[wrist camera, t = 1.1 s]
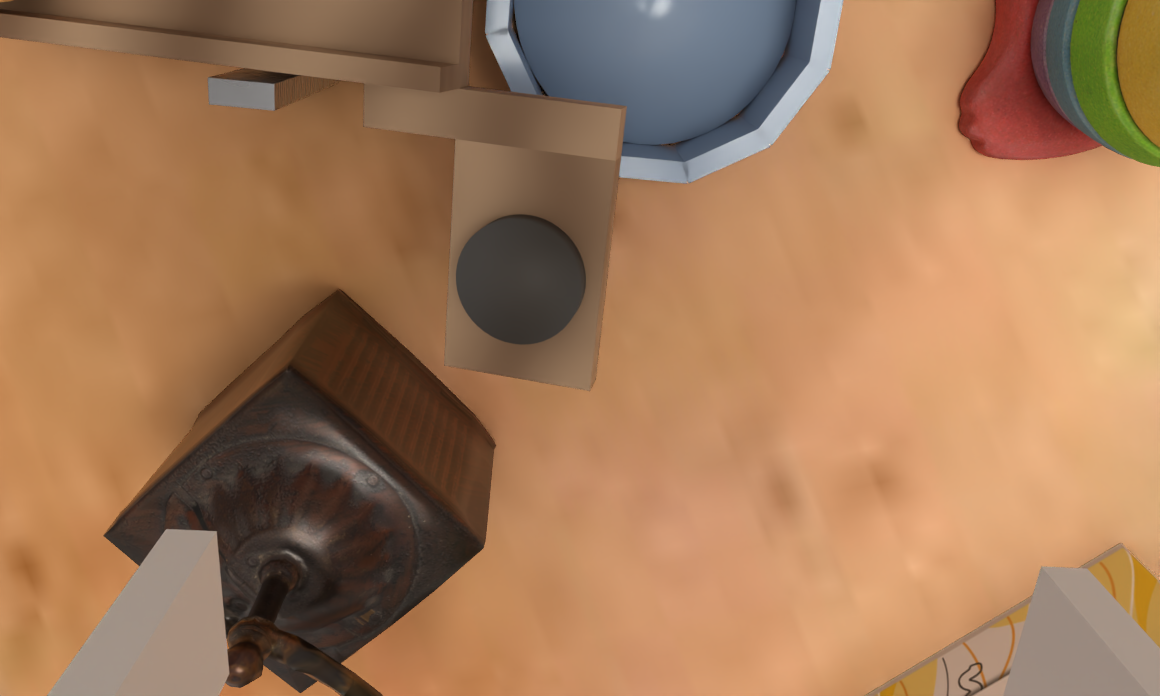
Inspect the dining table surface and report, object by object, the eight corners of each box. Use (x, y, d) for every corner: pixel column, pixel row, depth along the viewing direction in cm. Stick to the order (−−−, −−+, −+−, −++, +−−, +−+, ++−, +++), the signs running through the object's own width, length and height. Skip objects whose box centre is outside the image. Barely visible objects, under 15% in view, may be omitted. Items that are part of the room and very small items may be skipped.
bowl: (505, -200, 34) (499, -223, 30) (841, -160, 35) (876, -178, 31) (484, 147, 38) (477, 164, 35) (782, 175, 39) (806, 194, 35)
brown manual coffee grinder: (174, 433, 43) (-71, 720, 26) (340, 280, 40) (188, 488, 23) (413, 635, 47) (336, 992, 30) (575, 509, 45) (589, 820, 28)
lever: (20, 280, 34) (-71, 311, 31) (-36, -175, 29) (-155, -201, 25) (595, 379, 31) (570, 429, 27) (651, -115, 26) (629, -137, 22)
